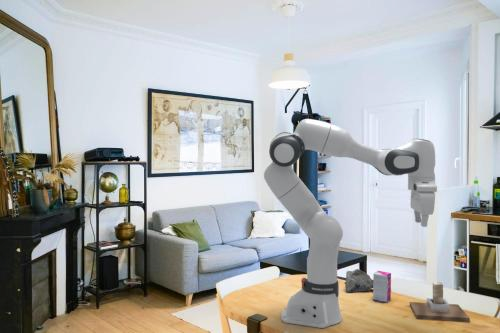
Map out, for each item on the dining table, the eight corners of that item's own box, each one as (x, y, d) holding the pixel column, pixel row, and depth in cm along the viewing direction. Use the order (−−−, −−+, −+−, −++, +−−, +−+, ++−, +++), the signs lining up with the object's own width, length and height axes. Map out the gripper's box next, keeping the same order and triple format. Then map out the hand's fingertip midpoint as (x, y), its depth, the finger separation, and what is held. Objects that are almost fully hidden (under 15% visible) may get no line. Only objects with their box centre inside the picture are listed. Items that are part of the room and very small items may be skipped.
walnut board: (416, 318, 151) (416, 314, 151) (409, 305, 165) (409, 301, 165) (469, 322, 147) (469, 318, 147) (457, 308, 161) (457, 304, 161)
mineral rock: (378, 290, 185) (377, 268, 184) (371, 297, 176) (371, 273, 175) (350, 285, 192) (349, 264, 191) (342, 292, 182) (342, 269, 182)
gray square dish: (430, 312, 153) (430, 304, 153) (426, 305, 160) (426, 298, 160) (449, 313, 152) (449, 305, 152) (444, 306, 159) (444, 299, 159)
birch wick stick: (434, 310, 155) (434, 284, 155) (432, 307, 158) (432, 282, 158) (443, 311, 154) (443, 284, 154) (441, 308, 157) (441, 282, 157)
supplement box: (386, 303, 167) (386, 275, 167) (372, 300, 171) (372, 273, 171) (391, 299, 172) (391, 272, 172) (377, 296, 176) (377, 270, 175)
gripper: (406, 183, 155) (406, 219, 155) (418, 186, 135) (417, 228, 135) (424, 183, 154) (423, 220, 154) (438, 187, 134) (438, 229, 134)
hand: (420, 224), depth 144 cm, fingers open, 8 cm apart
